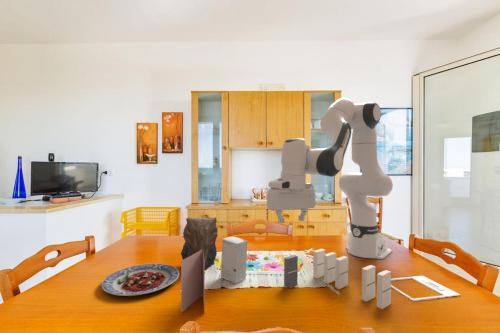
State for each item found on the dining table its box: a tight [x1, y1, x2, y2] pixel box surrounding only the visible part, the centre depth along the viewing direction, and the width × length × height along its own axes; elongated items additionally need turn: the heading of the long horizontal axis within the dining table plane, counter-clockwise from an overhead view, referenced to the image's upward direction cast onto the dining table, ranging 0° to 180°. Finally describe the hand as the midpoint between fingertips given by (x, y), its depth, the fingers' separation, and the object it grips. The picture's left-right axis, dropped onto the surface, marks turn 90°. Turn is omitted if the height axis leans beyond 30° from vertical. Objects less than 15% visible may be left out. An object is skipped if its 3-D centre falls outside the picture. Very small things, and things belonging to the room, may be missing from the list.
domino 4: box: [334, 255, 349, 290], centre depth 92 cm, size 2×5×10 cm, turn 125°
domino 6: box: [376, 269, 392, 310], centre depth 80 cm, size 2×5×10 cm, turn 125°
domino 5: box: [361, 264, 376, 303], centre depth 84 cm, size 2×5×10 cm, turn 125°
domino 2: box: [312, 248, 326, 279], centre depth 100 cm, size 2×5×10 cm, turn 125°
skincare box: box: [220, 236, 248, 284], centre depth 98 cm, size 8×6×15 cm
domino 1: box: [283, 254, 299, 288], centre depth 93 cm, size 2×5×10 cm, turn 125°
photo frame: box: [391, 275, 461, 302], centre depth 91 cm, size 15×1×18 cm
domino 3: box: [323, 251, 337, 284], centre depth 96 cm, size 2×5×10 cm, turn 125°
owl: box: [180, 216, 218, 271], centre depth 111 cm, size 13×13×20 cm
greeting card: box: [180, 249, 206, 313], centre depth 79 cm, size 11×7×15 cm, turn 157°
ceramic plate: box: [101, 263, 180, 297], centre depth 94 cm, size 26×26×3 cm
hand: (291, 221), depth 93 cm, fingers open, 8 cm apart
